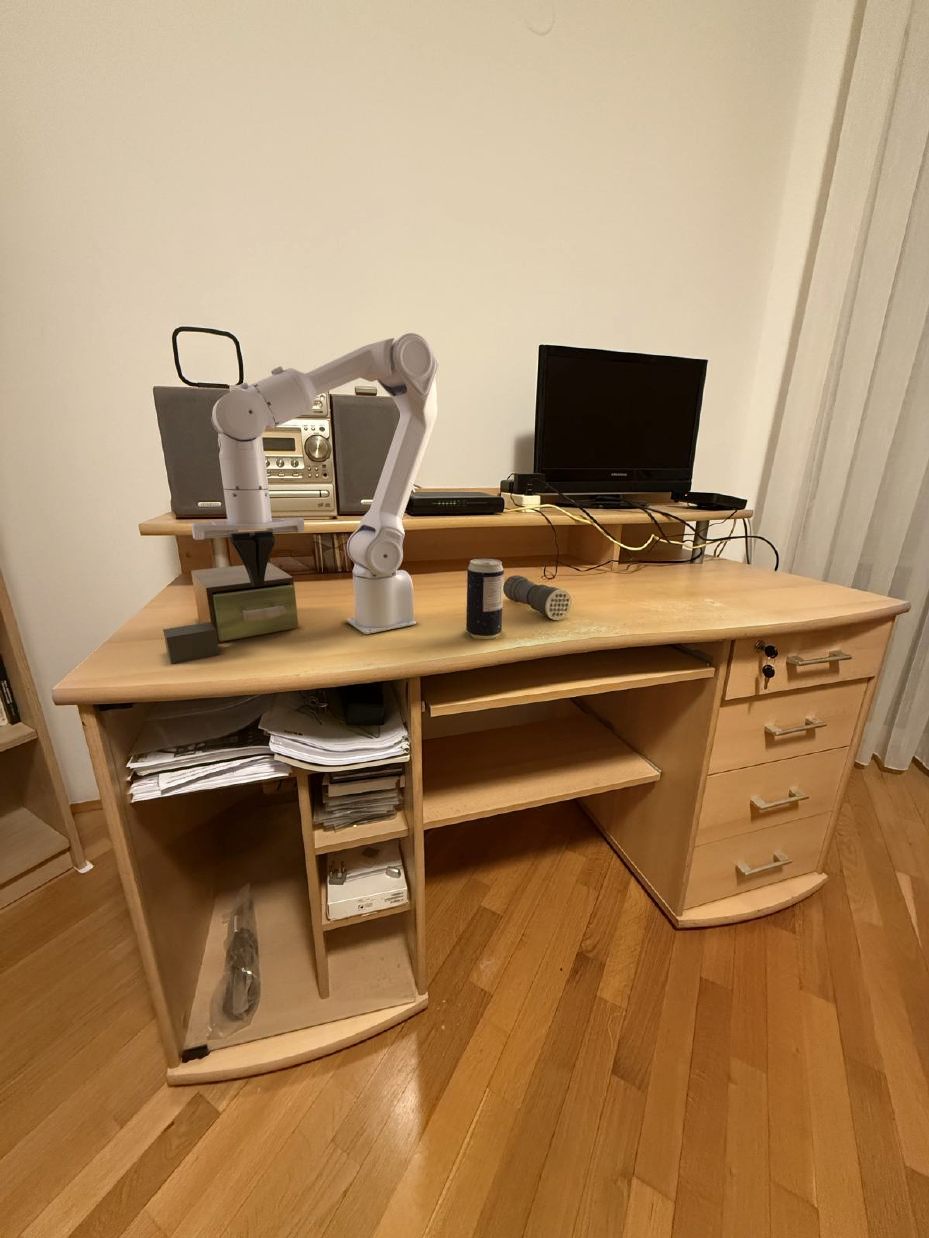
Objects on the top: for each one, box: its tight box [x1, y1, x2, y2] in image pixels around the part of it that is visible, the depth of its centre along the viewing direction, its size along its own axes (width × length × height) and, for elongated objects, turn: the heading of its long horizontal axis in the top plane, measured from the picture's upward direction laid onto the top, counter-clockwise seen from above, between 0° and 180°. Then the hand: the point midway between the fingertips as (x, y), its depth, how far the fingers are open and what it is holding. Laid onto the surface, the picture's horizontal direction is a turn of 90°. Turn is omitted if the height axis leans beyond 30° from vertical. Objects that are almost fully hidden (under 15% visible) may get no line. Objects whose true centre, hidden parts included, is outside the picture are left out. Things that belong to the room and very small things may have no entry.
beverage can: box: [465, 558, 505, 640], centre depth 77 cm, size 6×6×12 cm
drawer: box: [212, 584, 299, 642], centre depth 77 cm, size 17×11×7 cm, turn 36°
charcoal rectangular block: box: [162, 622, 220, 665], centre depth 68 cm, size 6×4×4 cm, turn 126°
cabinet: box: [190, 562, 298, 644], centre depth 81 cm, size 14×13×9 cm
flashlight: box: [503, 574, 572, 621], centre depth 93 cm, size 15×5×5 cm, turn 28°
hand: (257, 585), depth 71 cm, fingers closed
